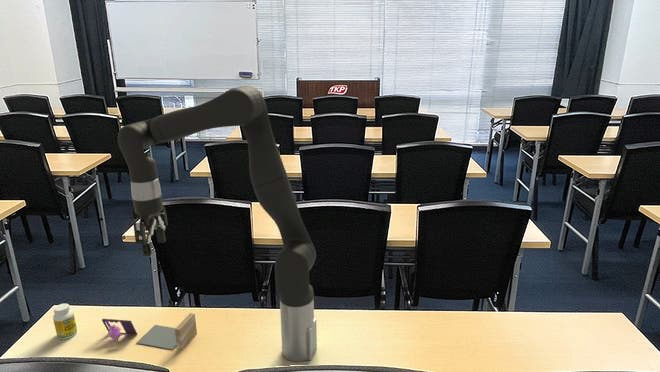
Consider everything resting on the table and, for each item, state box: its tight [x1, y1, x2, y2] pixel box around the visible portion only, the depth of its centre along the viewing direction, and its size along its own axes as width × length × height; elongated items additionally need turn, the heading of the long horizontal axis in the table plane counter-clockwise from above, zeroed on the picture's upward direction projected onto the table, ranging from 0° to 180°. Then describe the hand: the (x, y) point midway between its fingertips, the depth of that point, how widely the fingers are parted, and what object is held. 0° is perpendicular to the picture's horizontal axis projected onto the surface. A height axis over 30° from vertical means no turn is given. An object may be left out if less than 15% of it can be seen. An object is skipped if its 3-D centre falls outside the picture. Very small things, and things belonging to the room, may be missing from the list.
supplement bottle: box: [52, 303, 78, 340], centre depth 135 cm, size 5×5×10 cm
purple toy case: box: [101, 317, 138, 344], centre depth 133 cm, size 7×5×9 cm
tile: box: [174, 312, 198, 352], centre depth 131 cm, size 2×8×7 cm, turn 165°
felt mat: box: [136, 324, 177, 351], centre depth 134 cm, size 12×9×1 cm
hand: (155, 248), depth 129 cm, fingers open, 8 cm apart
